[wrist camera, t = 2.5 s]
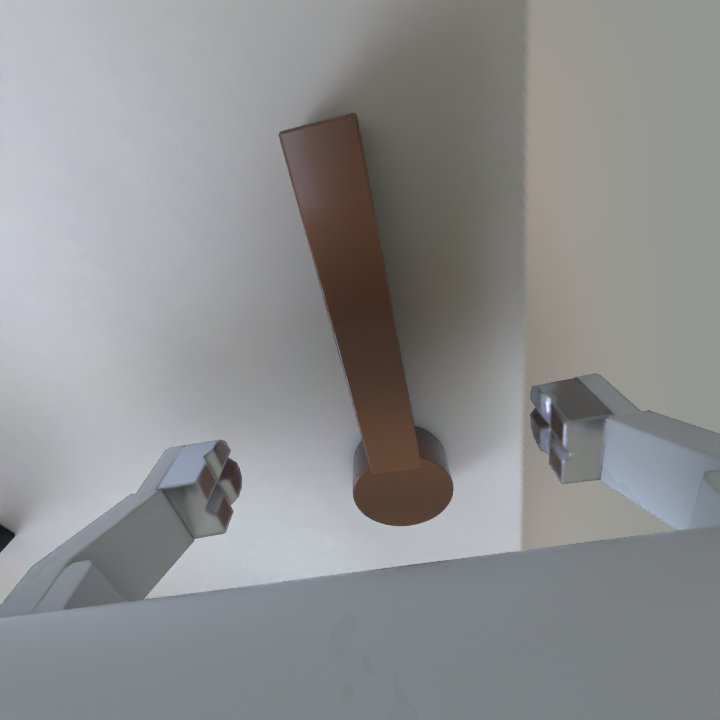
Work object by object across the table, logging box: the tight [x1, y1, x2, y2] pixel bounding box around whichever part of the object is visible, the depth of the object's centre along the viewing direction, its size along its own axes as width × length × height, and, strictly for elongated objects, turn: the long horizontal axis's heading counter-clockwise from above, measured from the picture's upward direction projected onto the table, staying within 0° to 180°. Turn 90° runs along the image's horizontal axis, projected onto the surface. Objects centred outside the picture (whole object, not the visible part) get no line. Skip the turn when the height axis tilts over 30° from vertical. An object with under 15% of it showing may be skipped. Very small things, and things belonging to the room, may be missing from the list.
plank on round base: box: [279, 113, 453, 526], centre depth 14 cm, size 16×4×3 cm, turn 12°
